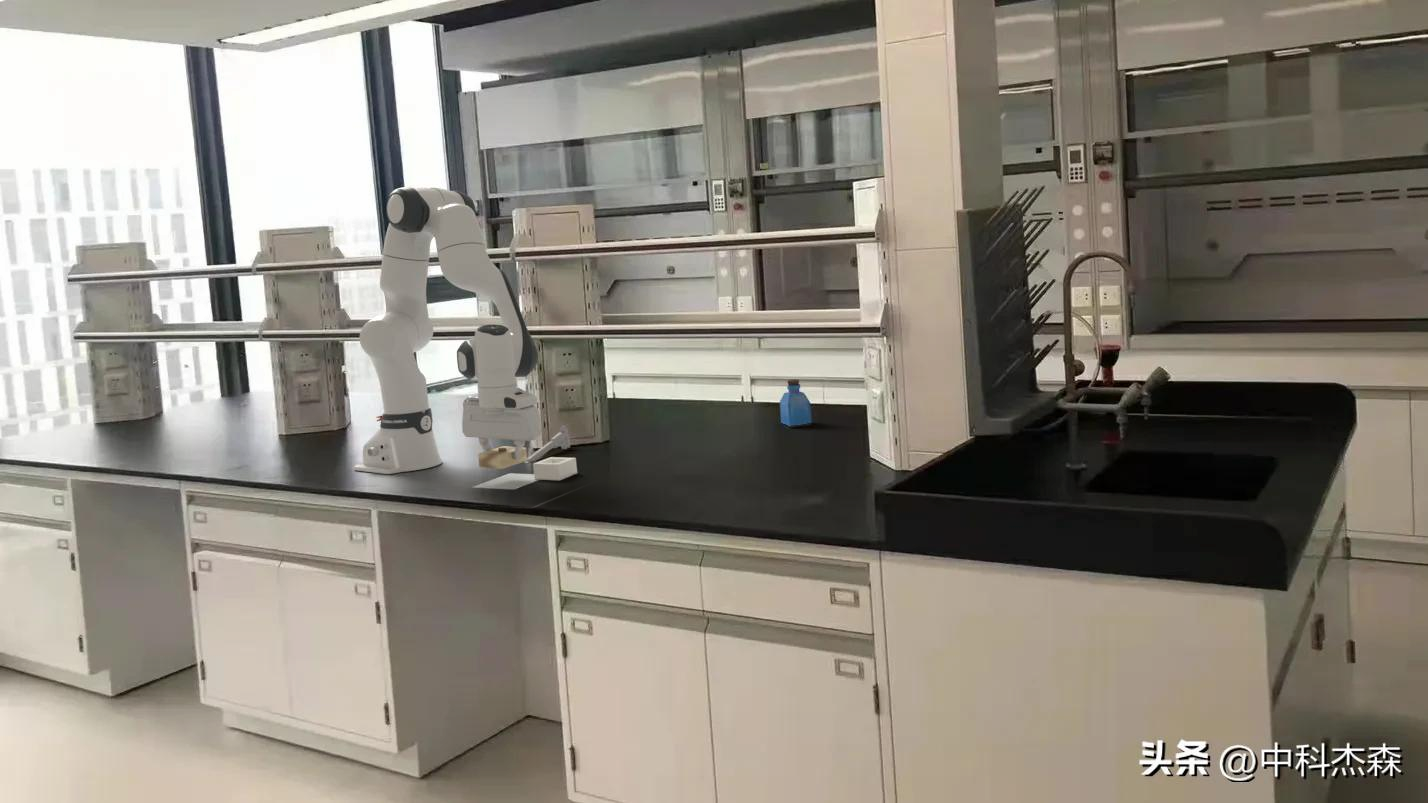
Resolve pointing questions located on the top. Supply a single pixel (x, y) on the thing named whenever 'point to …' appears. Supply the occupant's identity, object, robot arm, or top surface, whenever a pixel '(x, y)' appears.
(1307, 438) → the top surface
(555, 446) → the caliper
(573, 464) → the dish
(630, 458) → the top surface
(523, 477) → the mat
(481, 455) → the lid
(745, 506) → the top surface
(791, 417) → the perfume bottle
